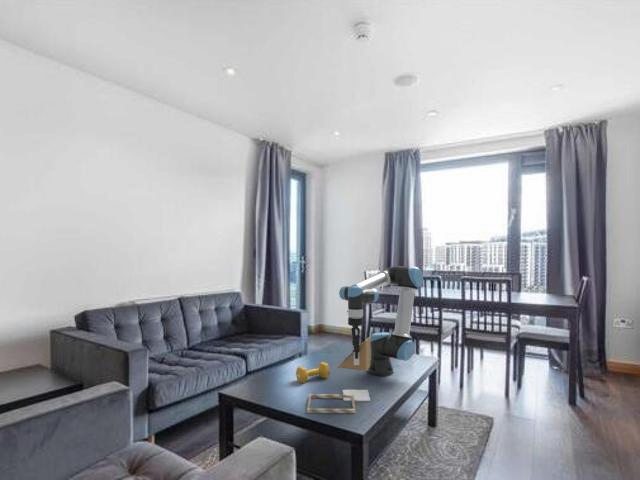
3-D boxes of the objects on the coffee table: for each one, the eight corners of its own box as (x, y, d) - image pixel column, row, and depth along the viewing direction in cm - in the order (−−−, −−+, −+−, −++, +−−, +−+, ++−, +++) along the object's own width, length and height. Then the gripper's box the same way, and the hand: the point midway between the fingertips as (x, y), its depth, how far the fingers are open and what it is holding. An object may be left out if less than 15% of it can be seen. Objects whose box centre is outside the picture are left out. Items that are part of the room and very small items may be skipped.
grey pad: (367, 391, 189) (367, 389, 189) (370, 401, 176) (370, 400, 176) (342, 390, 189) (342, 389, 189) (343, 401, 176) (343, 400, 176)
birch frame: (353, 397, 181) (353, 394, 181) (355, 413, 164) (355, 409, 164) (309, 397, 182) (309, 394, 182) (306, 412, 165) (306, 409, 165)
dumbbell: (301, 385, 198) (301, 370, 198) (294, 380, 206) (294, 365, 206) (331, 378, 207) (331, 364, 208) (322, 374, 215) (322, 360, 215)
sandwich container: (341, 362, 190) (341, 333, 191) (370, 366, 185) (370, 336, 185) (336, 367, 182) (336, 337, 183) (366, 371, 177) (366, 340, 177)
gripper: (347, 313, 195) (347, 355, 194) (349, 321, 173) (349, 368, 172) (361, 313, 194) (361, 355, 194) (364, 321, 172) (365, 369, 172)
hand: (355, 361), depth 183 cm, fingers closed on sandwich container, 9 cm apart
